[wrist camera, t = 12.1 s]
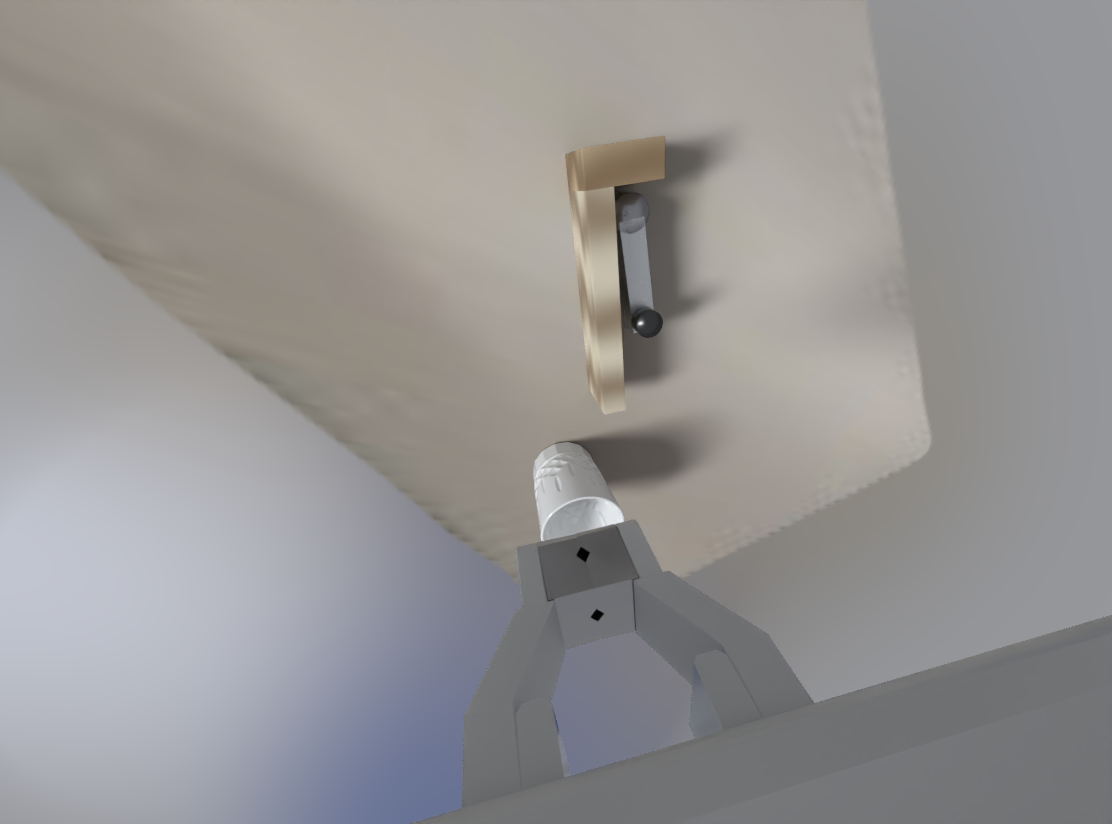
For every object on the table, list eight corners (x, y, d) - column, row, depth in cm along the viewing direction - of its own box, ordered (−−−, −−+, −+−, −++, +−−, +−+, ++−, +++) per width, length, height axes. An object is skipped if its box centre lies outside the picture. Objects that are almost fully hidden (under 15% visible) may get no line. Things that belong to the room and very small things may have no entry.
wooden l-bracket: (565, 154, 31) (582, 147, 26) (635, 144, 31) (664, 135, 27) (589, 389, 41) (604, 414, 36) (642, 378, 42) (663, 402, 37)
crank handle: (597, 197, 32) (617, 198, 28) (630, 188, 32) (654, 187, 28) (616, 324, 38) (635, 341, 33) (644, 316, 38) (667, 332, 34)
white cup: (602, 480, 47) (631, 544, 39) (539, 502, 47) (554, 571, 39) (587, 427, 43) (615, 485, 35) (518, 451, 43) (529, 515, 35)
